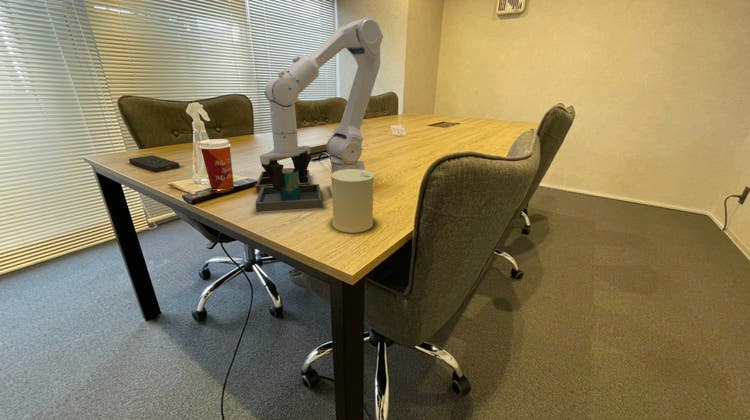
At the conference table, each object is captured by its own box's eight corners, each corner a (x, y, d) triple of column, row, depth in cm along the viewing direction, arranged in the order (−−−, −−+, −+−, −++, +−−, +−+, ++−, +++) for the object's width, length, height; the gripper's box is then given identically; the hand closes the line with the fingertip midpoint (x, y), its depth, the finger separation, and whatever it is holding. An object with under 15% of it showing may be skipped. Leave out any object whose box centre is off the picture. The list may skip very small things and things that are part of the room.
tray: (319, 192, 87) (319, 184, 86) (322, 209, 76) (322, 199, 75) (262, 195, 84) (261, 186, 83) (256, 213, 73) (255, 203, 72)
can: (369, 234, 64) (370, 180, 59) (327, 230, 65) (324, 177, 60) (376, 217, 72) (377, 168, 68) (338, 213, 74) (337, 165, 69)
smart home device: (153, 167, 100) (127, 158, 110) (155, 172, 101) (128, 163, 110) (180, 162, 107) (152, 154, 116) (181, 167, 107) (153, 159, 117)
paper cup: (226, 196, 82) (217, 144, 77) (201, 193, 84) (191, 142, 78) (243, 187, 90) (236, 139, 84) (220, 185, 91) (212, 137, 85)
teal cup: (300, 196, 83) (298, 167, 79) (300, 203, 78) (298, 172, 75) (280, 197, 82) (277, 168, 78) (279, 204, 77) (276, 173, 74)
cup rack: (309, 176, 101) (308, 169, 100) (310, 191, 88) (310, 183, 87) (262, 178, 98) (261, 171, 97) (257, 193, 85) (255, 185, 84)
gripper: (295, 127, 81) (298, 176, 86) (248, 134, 69) (256, 190, 75) (314, 130, 77) (317, 181, 82) (269, 137, 66) (275, 196, 71)
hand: (289, 185), depth 78 cm, fingers open, 7 cm apart
